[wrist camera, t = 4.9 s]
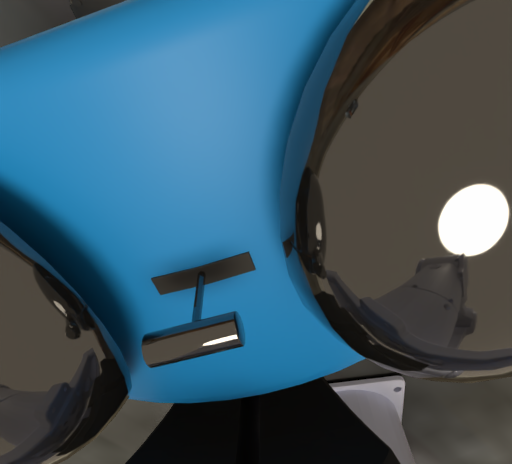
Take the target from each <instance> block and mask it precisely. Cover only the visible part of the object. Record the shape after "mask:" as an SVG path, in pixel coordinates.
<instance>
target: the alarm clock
mask: <svg viewBox="0 0 512 464" xmlns="http://www.w3.org/2000/svg"><path fill="white" fill-rule="evenodd" d="M69 1H70V3H71V5H70V7H71V9H72V11H73V13H74V15H75V17H76V19H75V20H73V21H70V22H67V23H65V24H62V25H59V26H57V27H54V28H52V29H49V30H46V31H44V32H41V33H38V34H36V35H33V36H30V37H28V38H25V39H22V40H20V41H17V42H14V43H12V44H9V45H6V46H4V47H1V48H0V464H59V463H61V462H63V461H65V460H67V459H68V458H70V457H71V456H72V455H74V454H75V453H77V452H78V451H79V450H81V449H82V448H84V447H85V446H86V445H88V444H89V443H91V442H92V441H93V440H95V439H96V438H97V436H98V435H99V434H100V433H101V432H102V431H103V430H104V429H105V427H106V426H107V425H108V424H109V423H110V422H111V421H112V420H113V419H114V417H115V416H116V415H117V413H118V412H119V411H120V409H121V408H122V406H123V405H124V404H125V402H126V401H127V399H133V400H141V401H148V402H156V403H199V402H211V401H223V400H232V399H238V398H244V397H249V396H255V395H261V394H266V393H270V392H274V391H278V390H281V389H285V388H289V387H293V386H296V385H300V384H304V383H306V382H309V381H312V380H315V379H317V378H320V377H323V376H326V375H329V374H331V373H334V372H337V371H340V370H342V369H344V368H346V367H348V366H350V365H353V364H355V363H357V362H359V361H361V360H363V359H368V360H370V361H372V362H374V363H375V364H377V365H379V366H381V367H382V368H385V369H388V370H391V371H394V372H397V373H401V374H404V375H407V376H410V377H413V378H418V379H424V380H430V381H439V382H456V383H476V382H482V381H489V380H495V379H500V378H506V377H512V0H69Z"/></svg>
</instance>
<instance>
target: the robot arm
mask: <svg viewBox="0 0 512 464" xmlns="http://www.w3.org/2000/svg"><path fill="white" fill-rule="evenodd" d="M404 391H405V381H404V378H403V377H402V376H388V377H380V378H372V379H363V380H355V381H347V382H338V383H330V384H328V382H327V381H326V380H325V379H324V377H320V378H317V379H315V380H312V381H309V382H306V383H304V384H300V385H296V386H293V387H289V388H285V389H281V390H278V391H274V392H270V393H266V394H261V395H255V396H249V397H244V398H238V399H232V400H223V401H211V402H199V403H174V404H173V406H172V407H171V409H170V410H169V412H168V413H167V414H166V416H165V417H164V418H163V420H162V421H161V422H160V423H159V425H158V426H157V427H156V428H155V430H154V431H153V432H152V433H151V434H150V436H149V437H148V438H147V439H146V441H145V442H144V443H143V444H142V446H141V447H140V448H139V449H138V450H137V451H136V452H135V453H134V455H133V456H132V457H131V458H130V459H129V460H128V461H127V462H126V463H125V464H415V461H414V458H413V455H412V453H411V450H410V447H409V444H408V441H407V438H406V436H405V433H404V430H403V427H402V424H401V423H402V412H403V402H404Z"/></svg>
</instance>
